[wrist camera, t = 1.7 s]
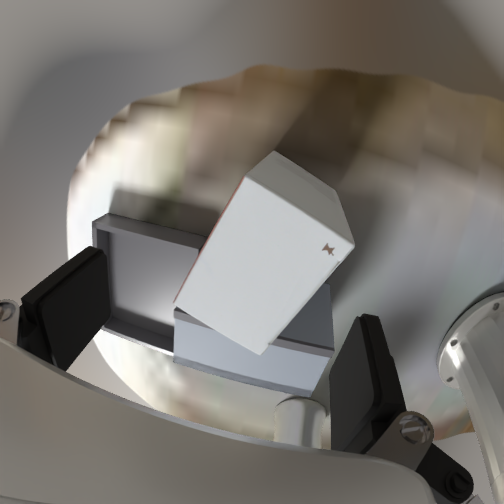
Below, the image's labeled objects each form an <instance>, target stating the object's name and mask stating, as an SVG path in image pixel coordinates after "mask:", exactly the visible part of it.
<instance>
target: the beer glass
mask: <svg viewBox="0 0 504 504" xmlns="http://www.w3.org/2000/svg"><path fill="white" fill-rule="evenodd" d="M325 417H326V410H325V408H324V407H323V406H322V405H321V404H320V403H318V402H316V401H314V400H310V399H304V398H295V399H289V400H286V401H284V402H282V403H280V404H279V405H278V406H277V407H276V408H275V411H274V424H275V431H274V437H273V441H275V442H280V443H286V444H292V445H298V446H304V447H311V448H318V449H323V447H322V429H323V425H324V421H325Z"/></svg>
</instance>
